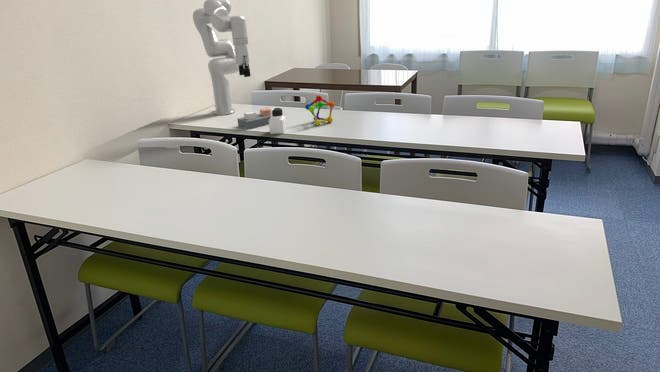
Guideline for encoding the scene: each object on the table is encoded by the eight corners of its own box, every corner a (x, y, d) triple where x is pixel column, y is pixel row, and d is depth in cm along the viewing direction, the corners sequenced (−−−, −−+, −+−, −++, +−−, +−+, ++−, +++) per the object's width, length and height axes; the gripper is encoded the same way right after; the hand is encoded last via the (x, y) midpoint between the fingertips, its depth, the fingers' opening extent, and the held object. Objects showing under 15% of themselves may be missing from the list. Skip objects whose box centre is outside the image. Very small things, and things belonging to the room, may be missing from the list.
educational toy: (319, 119, 270) (320, 92, 265) (336, 123, 261) (337, 95, 256) (298, 123, 259) (298, 94, 254) (315, 127, 251) (315, 98, 246)
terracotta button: (260, 116, 266) (259, 109, 264) (267, 115, 268) (266, 107, 267) (265, 118, 262) (264, 110, 261) (271, 116, 265) (271, 109, 263)
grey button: (244, 120, 260) (243, 112, 258) (251, 118, 262) (251, 111, 261) (249, 121, 256) (248, 114, 255) (256, 120, 259) (255, 112, 258)
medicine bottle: (286, 129, 250) (284, 106, 246) (283, 133, 244) (281, 110, 239) (272, 129, 251) (270, 107, 246) (269, 133, 244) (267, 110, 240)
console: (238, 125, 261) (237, 118, 260) (269, 118, 273) (268, 111, 271) (248, 129, 254) (247, 121, 253) (279, 121, 266) (278, 114, 264)
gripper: (229, 41, 254) (234, 75, 260) (237, 43, 239) (242, 78, 245) (243, 40, 257) (247, 73, 263) (252, 41, 242) (256, 76, 248)
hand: (244, 75), depth 254 cm, fingers open, 9 cm apart
